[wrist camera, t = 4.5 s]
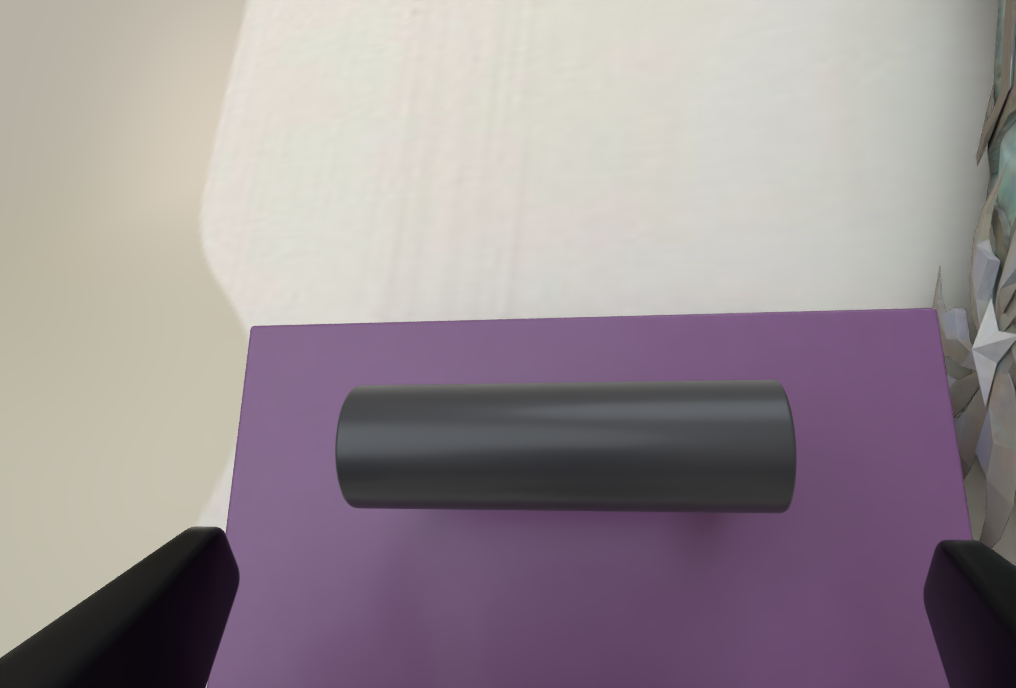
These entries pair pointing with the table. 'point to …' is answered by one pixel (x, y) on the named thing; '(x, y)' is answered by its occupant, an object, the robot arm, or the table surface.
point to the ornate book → (991, 305)
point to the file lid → (592, 503)
